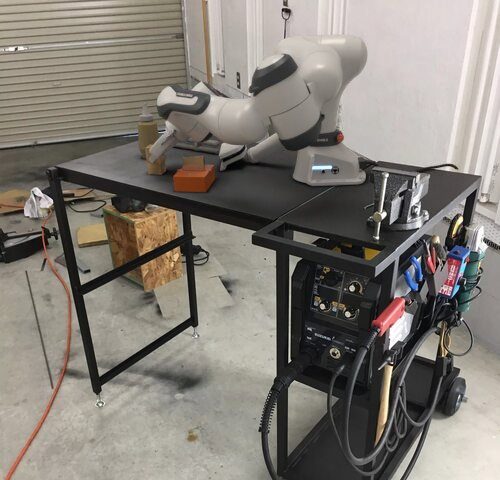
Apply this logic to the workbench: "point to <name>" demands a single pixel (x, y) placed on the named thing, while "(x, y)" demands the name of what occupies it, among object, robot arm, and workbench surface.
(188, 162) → the tan rectangular block
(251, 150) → the bottle
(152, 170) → the workpiece
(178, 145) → the metal rod assembly
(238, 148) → the white rounded block
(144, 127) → the squeeze bottle
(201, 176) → the orange box
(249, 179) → the workbench surface
